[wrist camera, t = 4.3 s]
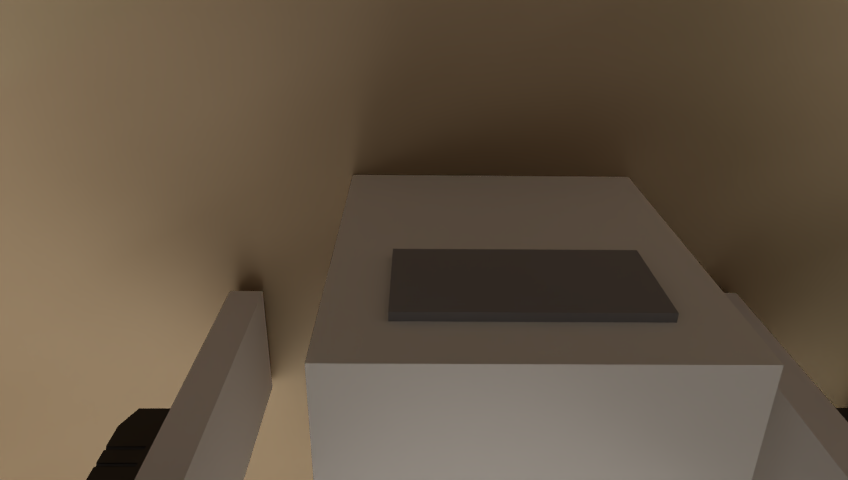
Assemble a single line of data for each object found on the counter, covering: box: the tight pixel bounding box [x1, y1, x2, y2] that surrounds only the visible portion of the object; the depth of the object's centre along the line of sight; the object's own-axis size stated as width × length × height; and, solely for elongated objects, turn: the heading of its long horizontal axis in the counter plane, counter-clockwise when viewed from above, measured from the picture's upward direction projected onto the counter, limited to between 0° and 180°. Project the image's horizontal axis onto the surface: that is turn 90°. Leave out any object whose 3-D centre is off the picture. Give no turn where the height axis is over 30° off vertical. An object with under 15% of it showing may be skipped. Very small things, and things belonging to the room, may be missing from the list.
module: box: [305, 175, 784, 480], centre depth 13 cm, size 8×6×7 cm
